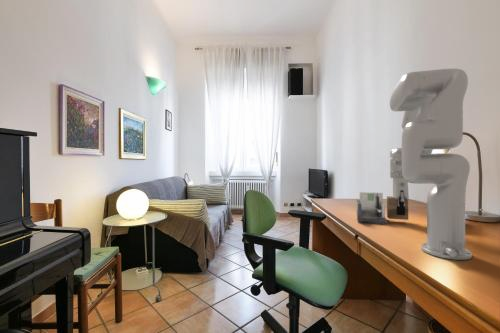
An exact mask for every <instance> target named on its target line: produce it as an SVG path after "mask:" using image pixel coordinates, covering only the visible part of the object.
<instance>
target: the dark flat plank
mask: <svg viewBox="0 0 500 333" xmlns="http://www.w3.org/2000/svg"><path fill="white" fill-rule="evenodd" d="M377 209H379V196H377ZM377 217H379V213H378V212H377Z"/></svg>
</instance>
